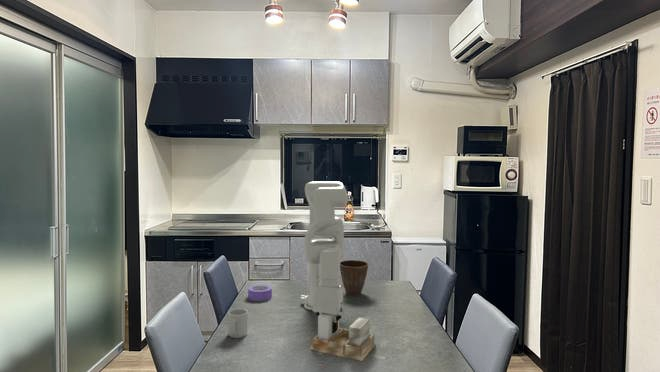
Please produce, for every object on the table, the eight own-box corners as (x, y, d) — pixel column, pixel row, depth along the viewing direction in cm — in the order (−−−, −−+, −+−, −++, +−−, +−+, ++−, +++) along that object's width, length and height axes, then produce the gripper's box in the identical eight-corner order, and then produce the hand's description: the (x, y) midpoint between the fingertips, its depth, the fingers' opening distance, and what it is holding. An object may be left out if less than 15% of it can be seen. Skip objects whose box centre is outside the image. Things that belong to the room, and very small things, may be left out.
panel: (317, 340, 148) (318, 316, 147) (329, 330, 157) (329, 307, 156) (327, 342, 146) (328, 317, 146) (339, 332, 155) (339, 309, 155)
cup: (249, 331, 163) (249, 309, 162) (241, 341, 153) (241, 318, 152) (232, 330, 163) (232, 308, 163) (223, 340, 153) (223, 317, 153)
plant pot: (368, 298, 205) (369, 267, 205) (339, 298, 205) (339, 266, 205) (366, 289, 220) (367, 260, 219) (338, 289, 220) (339, 260, 220)
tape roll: (276, 297, 206) (276, 287, 205) (258, 303, 197) (258, 292, 197) (261, 292, 213) (261, 283, 213) (243, 297, 205) (243, 287, 204)
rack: (310, 349, 147) (311, 322, 146) (327, 335, 160) (327, 309, 159) (362, 361, 138) (362, 332, 138) (375, 344, 152) (375, 318, 151)
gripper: (304, 281, 151) (304, 330, 151) (346, 287, 144) (345, 338, 145) (313, 276, 157) (313, 323, 158) (354, 282, 151) (353, 331, 151)
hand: (328, 330), depth 151 cm, fingers closed on panel, 3 cm apart
